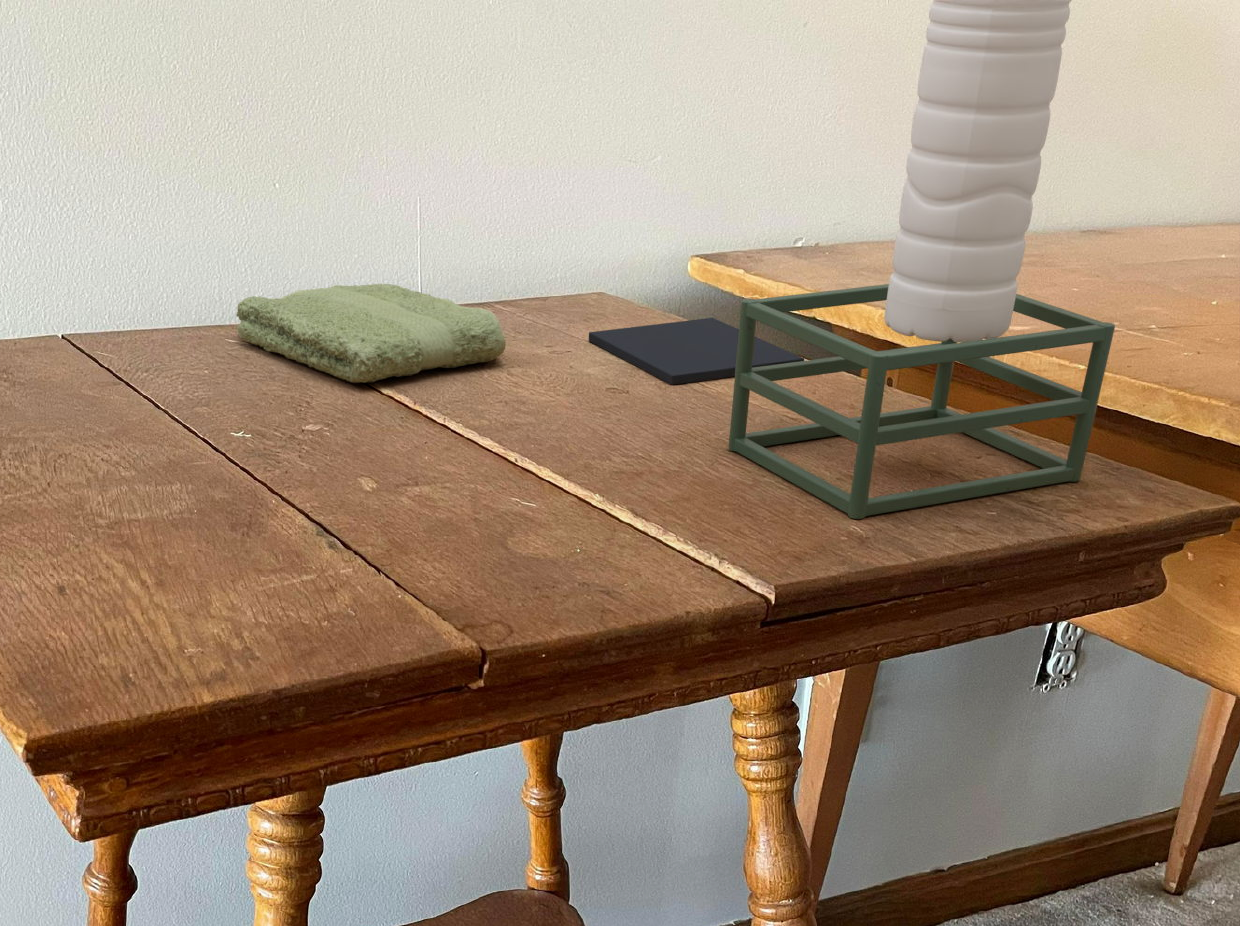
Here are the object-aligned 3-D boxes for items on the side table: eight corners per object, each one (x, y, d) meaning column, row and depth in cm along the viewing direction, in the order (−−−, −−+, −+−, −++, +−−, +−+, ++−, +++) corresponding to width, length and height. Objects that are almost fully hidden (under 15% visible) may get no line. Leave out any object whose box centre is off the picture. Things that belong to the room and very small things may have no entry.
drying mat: (803, 367, 102) (804, 358, 101) (671, 385, 98) (672, 375, 98) (712, 326, 110) (712, 317, 110) (588, 341, 107) (588, 331, 107)
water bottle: (1032, 327, 81) (1157, -290, 66) (966, 351, 77) (1081, -295, 62) (892, 298, 86) (977, -283, 70) (823, 319, 82) (898, -287, 67)
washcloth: (382, 311, 114) (380, 264, 112) (518, 364, 102) (519, 312, 101) (223, 337, 108) (218, 288, 106) (349, 396, 97) (345, 342, 95)
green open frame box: (1083, 480, 83) (1119, 325, 79) (854, 520, 79) (877, 357, 74) (938, 416, 93) (962, 273, 88) (725, 448, 88) (738, 299, 83)
